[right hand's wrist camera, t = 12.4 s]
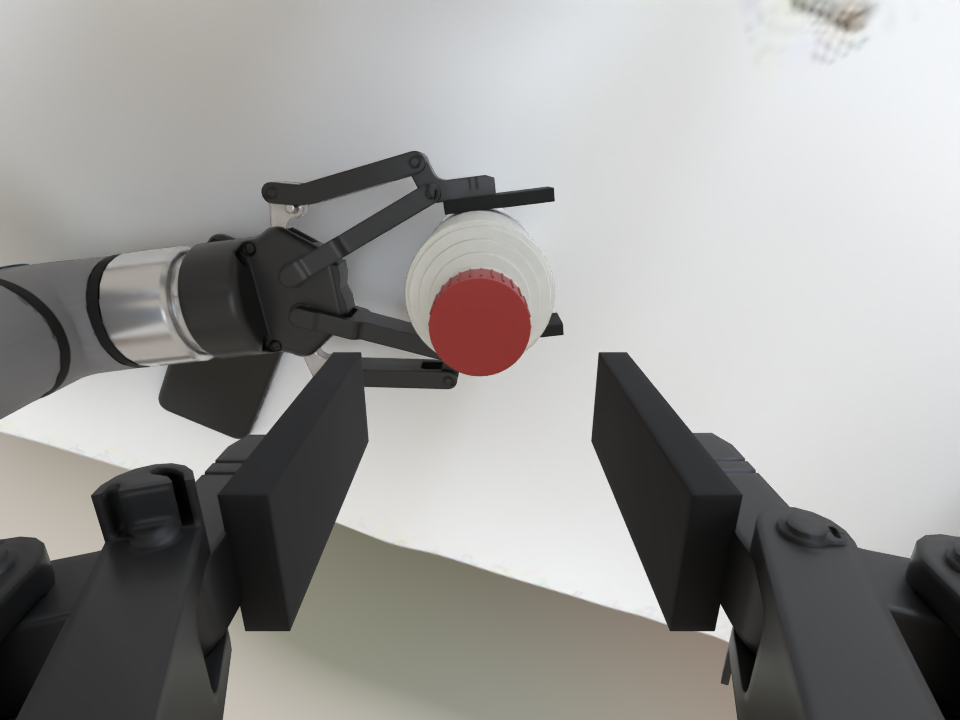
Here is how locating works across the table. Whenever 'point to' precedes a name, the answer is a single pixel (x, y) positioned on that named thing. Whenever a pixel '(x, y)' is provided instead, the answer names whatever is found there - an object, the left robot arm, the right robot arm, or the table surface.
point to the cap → (479, 322)
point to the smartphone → (220, 388)
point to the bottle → (480, 265)
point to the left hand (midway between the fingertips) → (555, 261)
